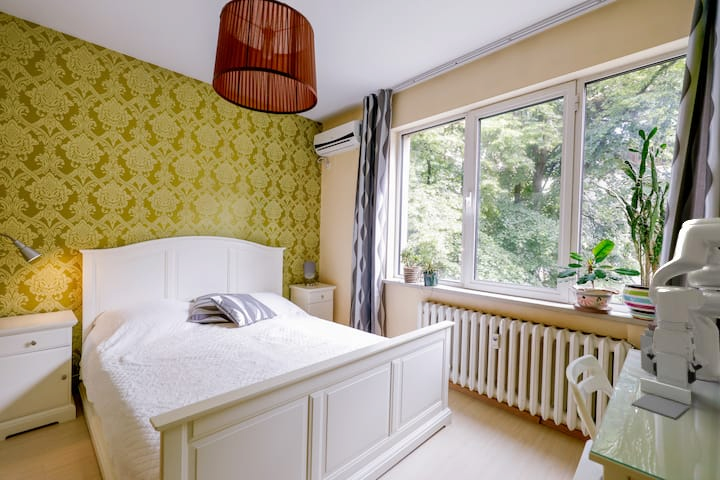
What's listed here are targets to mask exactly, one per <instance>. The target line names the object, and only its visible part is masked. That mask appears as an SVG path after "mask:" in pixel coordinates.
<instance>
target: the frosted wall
mask: <svg viewBox="0 0 720 480" xmlns="http://www.w3.org/2000/svg"><path fill="white" fill-rule="evenodd" d="M639 382H640V388H639V389H640V391H642V392H645V393H647V394H650V395H654V396H657V397H661V398H664V399H667V400H671V401H674V402H677V403H681V404H684V405H687V406H690V405H691V404H692V393H691V392H692V391H690V390H686V389H682V388H679V387H675V386H671V385H668V384H664V383H660V382H658V381H657V380H656V381H655V380H652V379H647V378H644V377H640V379H639Z"/></svg>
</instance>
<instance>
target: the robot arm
mask: <svg viewBox="0 0 720 480" xmlns="http://www.w3.org/2000/svg"><path fill="white" fill-rule="evenodd" d="M719 248H720V217H707V218H695V219H694V218H693V219H690V220H686V221H684V223H682V225H681V229H680V230H679V233H678V236H677V240H676V245H675V249H674V253H673V258H672V259H671V260H670V261H668V262H666V263H665V264H663V265H662V266H661V267H659V269H657V270H656V271H655V272H654V273H653V275H652V277H651V279H650V284H649V287H648V299H649V300H648V301H650V303H651V304H653V305H655V306H656V319H657V320H656V321H657V323H656V324H657V326H658V327H656V328H655V331H654V336H653V344H652V345H649V346H647V347H644V348H642V350H643V351H644V352H645V354H646V355H647V357H648V358H650V359H651V360H652V362H653V366H654V371H655V375H654V376H657V361H656V352H657V351H660V352H665V353H670V354H675V355H680V356H685V357H686V359H687V366H688V368H689V371H688V383H689V384H693V383H694V382H696V381H697V380H700V381H708V382H715V383H716V382H720V330H719V328H718V326H717V325H716V324H715V322H713V320H712V319H711V318H715V319H720V249H719ZM685 274H687V282H688V284H689V285H690V286H691V287H686V286H677V285H665V284H666V282H668V281H669V280H670V279H672V278H674V277H677V276H679V275H685ZM650 349H652V350H653V354H654V355H655V356H654V355H653V354H652V353H651V352H650V351H649V350H650Z"/></svg>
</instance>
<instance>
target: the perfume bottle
mask: <svg viewBox="0 0 720 480" xmlns="http://www.w3.org/2000/svg"><path fill="white" fill-rule="evenodd" d="M647 326H648V328H643V331H644V333H640V334H639V337H640V340H639V341H640V363H641V364H640V365H641V366H640V368H641V369H643V371H646V372H647V373H649V374H651V375H653V376H656V375H655V371H654V366H653V362H652V360H651V359H650V358H648V357H647V355H646V354H645V352H644V351H643V350H642V348H644V347H647V346H649V345H652V344H653V336H654V331H655V328H656V327H658V326H657V323H647ZM649 351H650V352H651V353H652V354H653V350H652V349H650V350H649ZM653 355H654V354H653ZM654 356H655V355H654Z"/></svg>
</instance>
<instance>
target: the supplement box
mask: <svg viewBox="0 0 720 480" xmlns="http://www.w3.org/2000/svg"><path fill="white" fill-rule="evenodd" d="M656 361H657V375H656V377H657V379H656V382H660V383H664V384H668V385H671V386H675V387H679V388H682V389H686V390H690V391H691V392H692V391H693V386H692V384H693V383H692V384H689V383H688V371H689V368H688V366H687V359H686V357H685V356H680V355H675V354H670V353H665V352H660V351H657V352H656Z"/></svg>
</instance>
